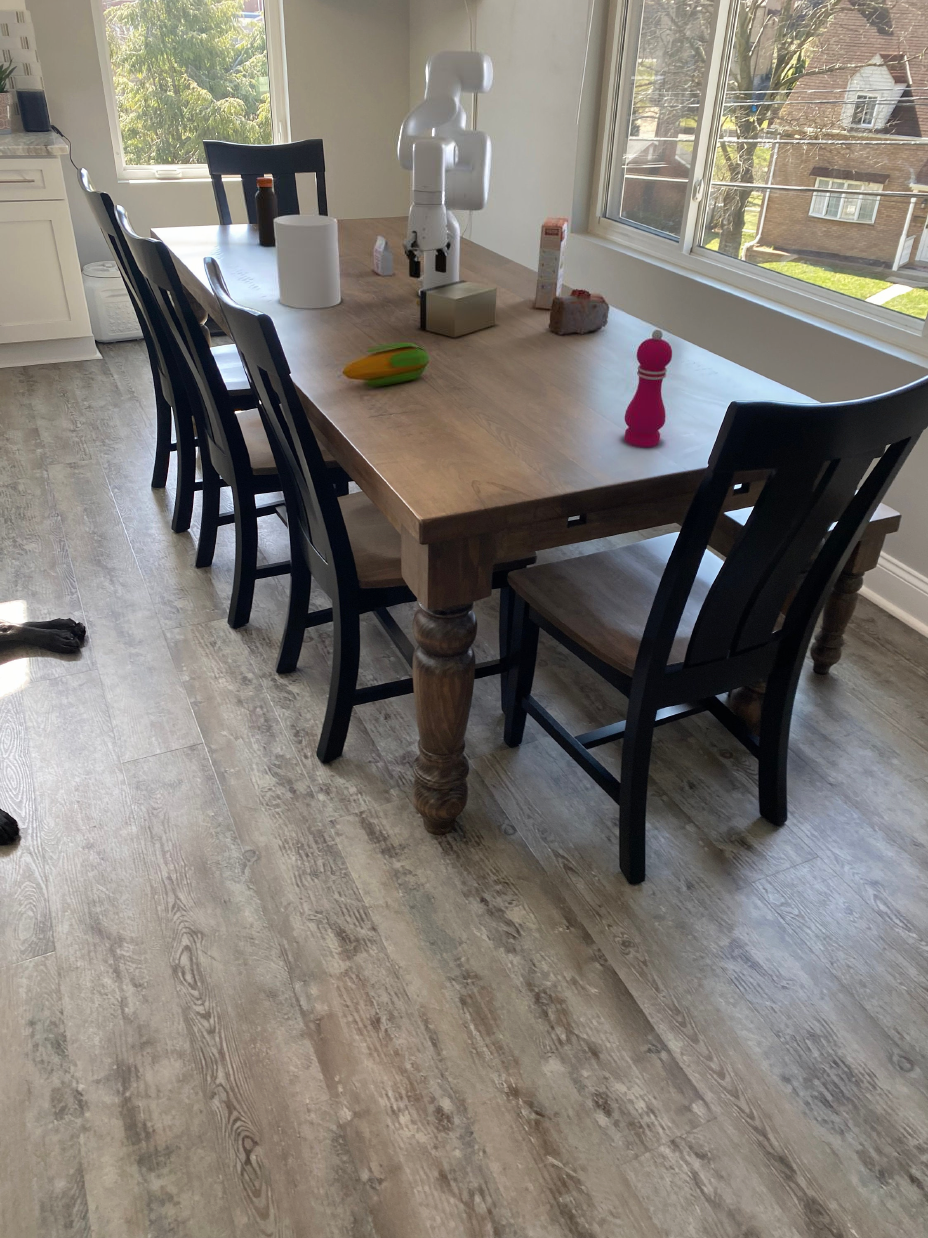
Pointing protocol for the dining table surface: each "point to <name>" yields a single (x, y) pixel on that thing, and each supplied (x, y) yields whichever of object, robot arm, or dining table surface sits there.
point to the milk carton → (382, 257)
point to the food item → (578, 313)
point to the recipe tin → (457, 308)
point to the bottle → (266, 211)
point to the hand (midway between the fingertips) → (427, 274)
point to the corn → (389, 365)
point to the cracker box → (551, 261)
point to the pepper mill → (648, 393)
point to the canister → (307, 261)
